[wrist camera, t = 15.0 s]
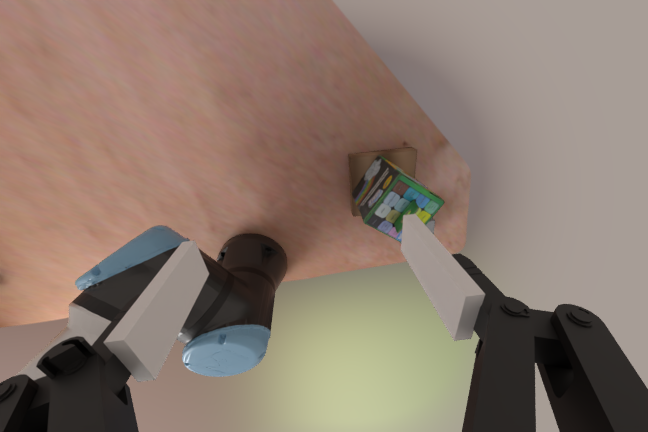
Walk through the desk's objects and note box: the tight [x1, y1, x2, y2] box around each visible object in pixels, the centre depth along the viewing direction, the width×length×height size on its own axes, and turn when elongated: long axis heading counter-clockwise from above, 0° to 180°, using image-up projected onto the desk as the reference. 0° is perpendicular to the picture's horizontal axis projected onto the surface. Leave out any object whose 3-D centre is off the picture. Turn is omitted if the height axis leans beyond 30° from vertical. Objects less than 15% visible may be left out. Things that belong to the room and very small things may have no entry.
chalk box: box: [352, 155, 444, 242], centre depth 39 cm, size 9×9×15 cm
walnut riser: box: [349, 147, 417, 216], centre depth 47 cm, size 12×12×2 cm
